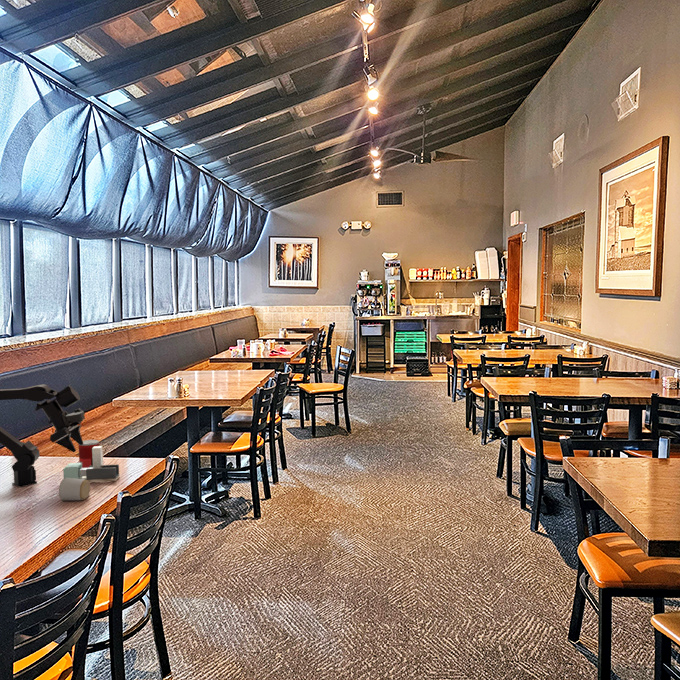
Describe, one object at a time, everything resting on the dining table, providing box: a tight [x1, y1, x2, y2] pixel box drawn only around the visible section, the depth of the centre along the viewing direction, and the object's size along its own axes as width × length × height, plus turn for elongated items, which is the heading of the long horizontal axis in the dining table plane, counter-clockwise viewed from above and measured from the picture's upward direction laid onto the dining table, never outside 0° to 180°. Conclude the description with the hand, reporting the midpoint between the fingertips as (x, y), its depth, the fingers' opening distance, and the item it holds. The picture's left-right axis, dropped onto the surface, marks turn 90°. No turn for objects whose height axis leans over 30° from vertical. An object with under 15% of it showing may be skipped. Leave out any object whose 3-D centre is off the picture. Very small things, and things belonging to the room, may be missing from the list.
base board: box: [80, 474, 120, 483], centre depth 222 cm, size 19×6×1 cm, turn 98°
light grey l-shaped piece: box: [78, 445, 104, 477], centre depth 222 cm, size 12×3×11 cm, turn 98°
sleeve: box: [86, 464, 120, 480], centre depth 223 cm, size 11×5×4 cm, turn 98°
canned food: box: [78, 439, 100, 468], centre depth 239 cm, size 8×8×11 cm
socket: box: [62, 462, 82, 479], centre depth 221 cm, size 5×6×5 cm
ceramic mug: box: [58, 477, 91, 501], centre depth 202 cm, size 11×8×8 cm
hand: (78, 447), depth 222 cm, fingers open, 9 cm apart
